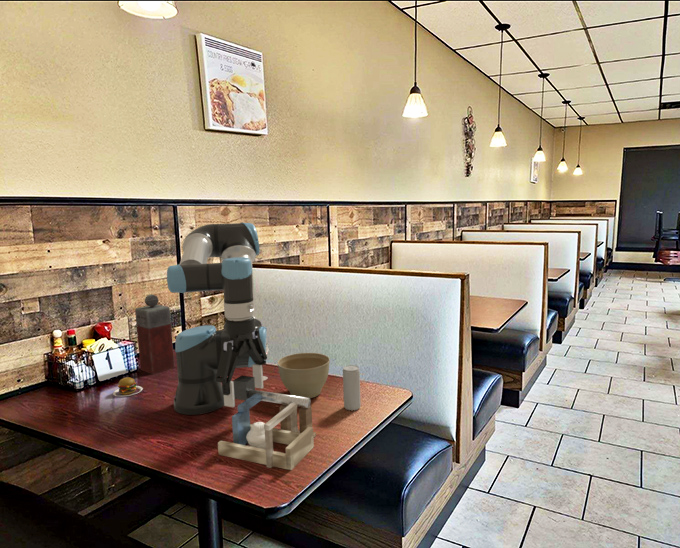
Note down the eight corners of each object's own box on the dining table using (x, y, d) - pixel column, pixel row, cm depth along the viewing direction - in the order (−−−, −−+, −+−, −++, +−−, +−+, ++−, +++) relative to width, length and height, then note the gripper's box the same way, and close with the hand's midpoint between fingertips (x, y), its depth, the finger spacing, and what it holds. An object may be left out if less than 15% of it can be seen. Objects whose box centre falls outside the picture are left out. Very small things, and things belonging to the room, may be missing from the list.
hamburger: (148, 385, 165) (147, 369, 164) (147, 397, 154) (145, 381, 153) (110, 390, 161) (108, 374, 161) (105, 403, 150) (104, 386, 149)
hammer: (213, 443, 120) (209, 393, 118) (244, 420, 132) (241, 375, 130) (287, 458, 111) (284, 405, 109) (313, 432, 123) (311, 384, 122)
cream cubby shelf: (277, 436, 123) (276, 407, 122) (285, 430, 127) (284, 401, 126) (308, 442, 120) (307, 412, 119) (316, 435, 123) (314, 405, 122)
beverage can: (359, 411, 137) (358, 370, 135) (342, 410, 138) (341, 370, 136) (361, 404, 141) (360, 365, 140) (345, 404, 142) (344, 364, 141)
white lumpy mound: (264, 457, 113) (263, 429, 112) (242, 453, 115) (240, 426, 114) (277, 445, 119) (275, 418, 118) (255, 441, 121) (253, 415, 120)
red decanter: (159, 362, 188) (153, 291, 184) (175, 367, 181) (168, 293, 177) (137, 368, 181) (130, 295, 177) (152, 374, 174) (145, 297, 170)
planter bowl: (290, 382, 161) (288, 351, 160) (336, 386, 157) (335, 353, 155) (270, 401, 146) (268, 367, 144) (321, 406, 141) (320, 370, 140)
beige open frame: (216, 456, 115) (213, 415, 113) (247, 432, 126) (245, 395, 125) (289, 472, 107) (287, 428, 105) (315, 445, 118) (313, 406, 117)
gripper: (222, 330, 113) (228, 417, 115) (277, 308, 135) (280, 382, 138) (196, 327, 116) (202, 412, 118) (254, 307, 138) (258, 379, 141)
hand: (244, 396), depth 128 cm, fingers open, 12 cm apart
